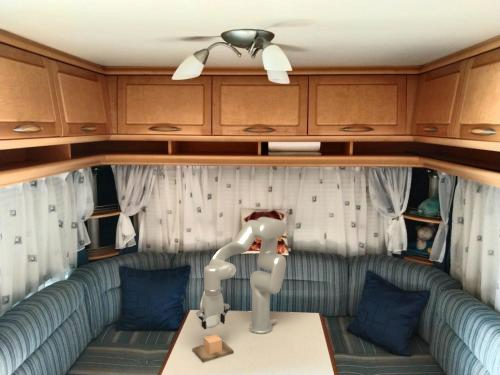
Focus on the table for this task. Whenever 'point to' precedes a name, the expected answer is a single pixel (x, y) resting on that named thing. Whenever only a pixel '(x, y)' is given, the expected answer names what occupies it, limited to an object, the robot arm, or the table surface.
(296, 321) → the table surface
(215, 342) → the light orange cube
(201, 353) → the base plate
